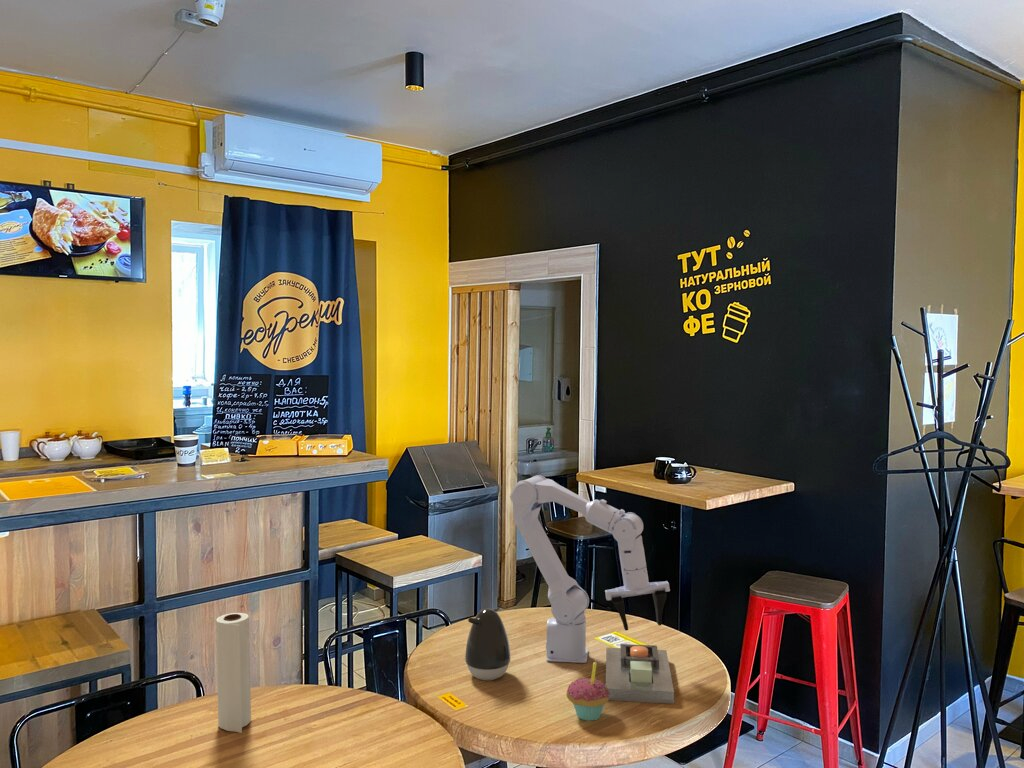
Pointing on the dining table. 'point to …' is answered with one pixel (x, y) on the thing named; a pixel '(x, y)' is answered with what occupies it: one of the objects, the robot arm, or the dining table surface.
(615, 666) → the control box
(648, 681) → the pale green block
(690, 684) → the dining table surface
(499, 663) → the dark grey egg-shaped figure
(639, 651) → the button
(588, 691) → the cupcake
